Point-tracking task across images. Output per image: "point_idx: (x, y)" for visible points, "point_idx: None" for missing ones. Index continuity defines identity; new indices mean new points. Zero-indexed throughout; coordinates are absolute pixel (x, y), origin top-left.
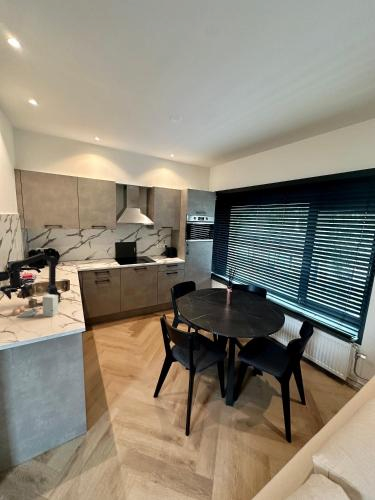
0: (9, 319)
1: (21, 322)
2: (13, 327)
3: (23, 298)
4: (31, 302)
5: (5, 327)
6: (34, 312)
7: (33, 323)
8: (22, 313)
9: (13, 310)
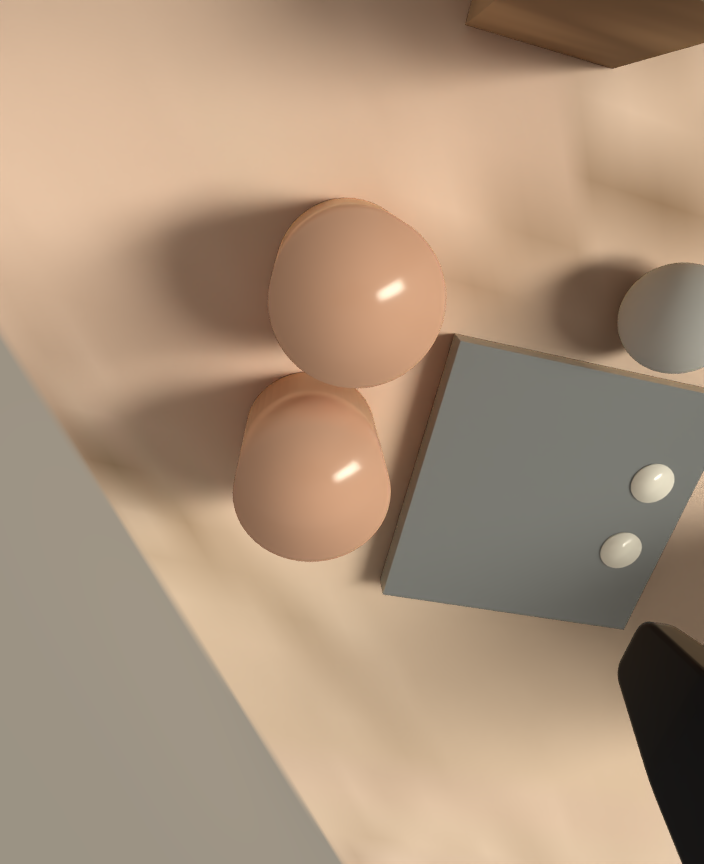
0: (267, 618)
1: (506, 748)
2: (444, 850)
3: (654, 722)
4: (639, 12)
5: (337, 836)
6: (671, 477)
7: None
8: (435, 466)
9: (263, 534)
